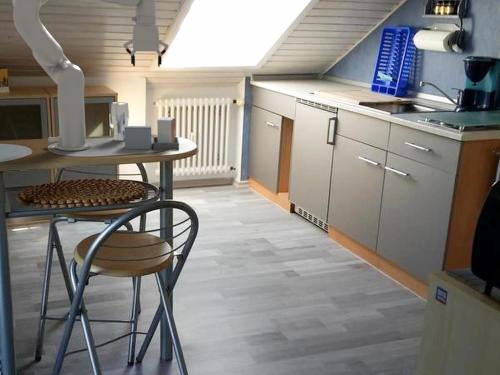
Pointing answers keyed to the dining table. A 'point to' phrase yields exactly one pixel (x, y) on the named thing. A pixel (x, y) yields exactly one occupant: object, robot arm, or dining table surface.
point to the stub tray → (165, 145)
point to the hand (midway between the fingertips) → (146, 66)
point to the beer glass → (119, 119)
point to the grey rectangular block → (138, 137)
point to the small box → (166, 130)
